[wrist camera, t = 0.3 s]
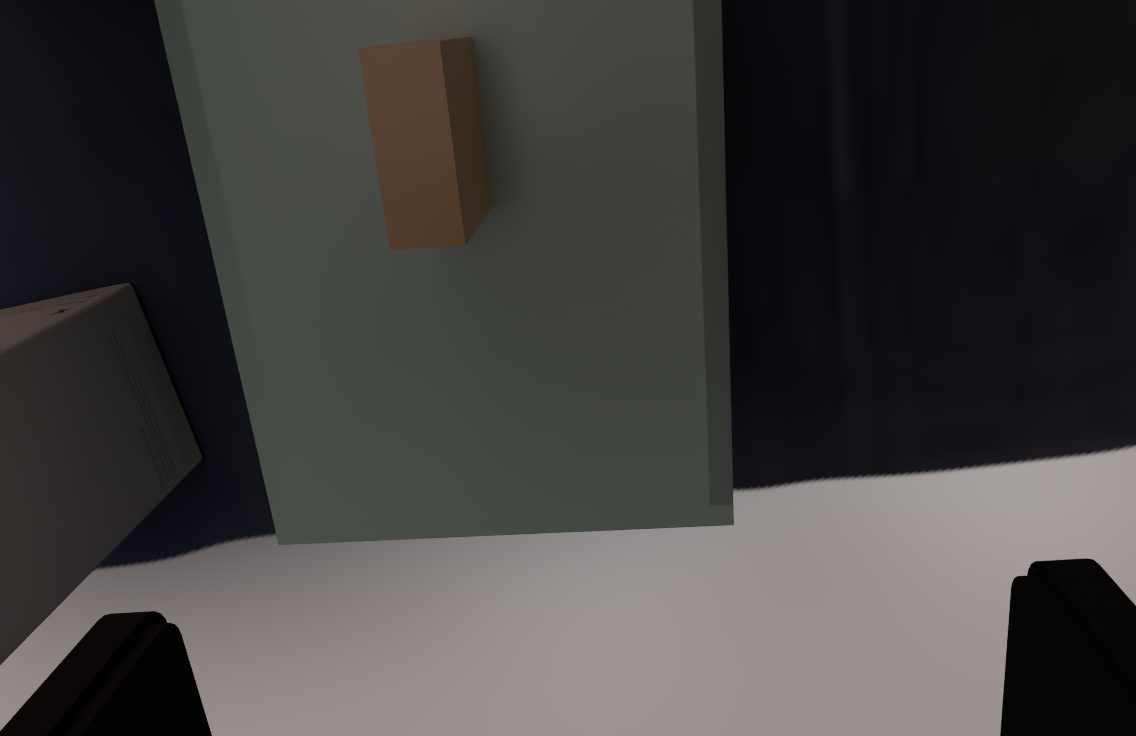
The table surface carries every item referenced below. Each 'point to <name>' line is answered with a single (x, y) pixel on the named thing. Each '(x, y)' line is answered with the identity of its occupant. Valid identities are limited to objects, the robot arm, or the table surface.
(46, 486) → the supplement box
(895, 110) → the table surface
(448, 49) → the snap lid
